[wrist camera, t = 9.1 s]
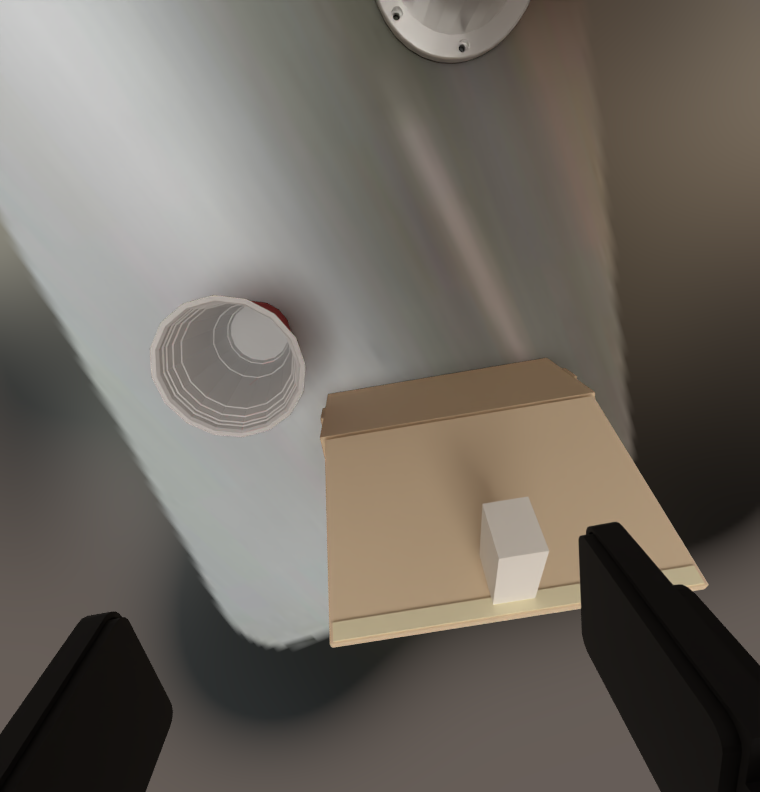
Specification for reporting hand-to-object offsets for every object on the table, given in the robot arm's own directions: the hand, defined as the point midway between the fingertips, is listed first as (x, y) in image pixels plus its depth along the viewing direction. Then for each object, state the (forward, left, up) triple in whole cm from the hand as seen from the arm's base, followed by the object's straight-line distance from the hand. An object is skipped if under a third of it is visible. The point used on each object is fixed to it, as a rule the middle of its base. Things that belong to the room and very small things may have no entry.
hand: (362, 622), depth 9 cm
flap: (+11, +6, -19) cm, 23 cm away
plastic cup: (+1, -10, -36) cm, 38 cm away
